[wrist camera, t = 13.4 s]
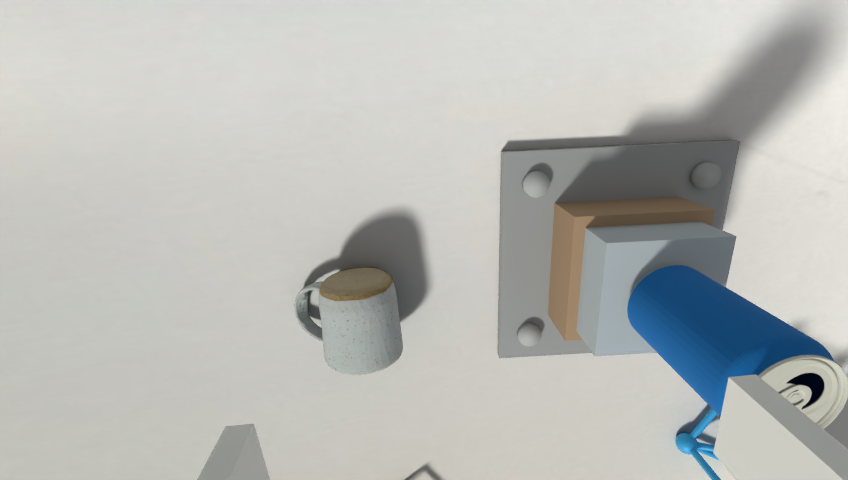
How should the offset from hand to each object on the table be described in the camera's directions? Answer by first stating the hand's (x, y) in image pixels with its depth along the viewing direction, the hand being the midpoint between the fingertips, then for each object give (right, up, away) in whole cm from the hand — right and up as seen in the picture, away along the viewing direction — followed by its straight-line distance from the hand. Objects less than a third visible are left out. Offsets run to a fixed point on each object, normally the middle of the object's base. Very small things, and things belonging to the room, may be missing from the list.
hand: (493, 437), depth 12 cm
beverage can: (+17, +1, +22) cm, 28 cm away
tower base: (+17, +4, +31) cm, 35 cm away
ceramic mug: (-10, -1, +32) cm, 33 cm away
